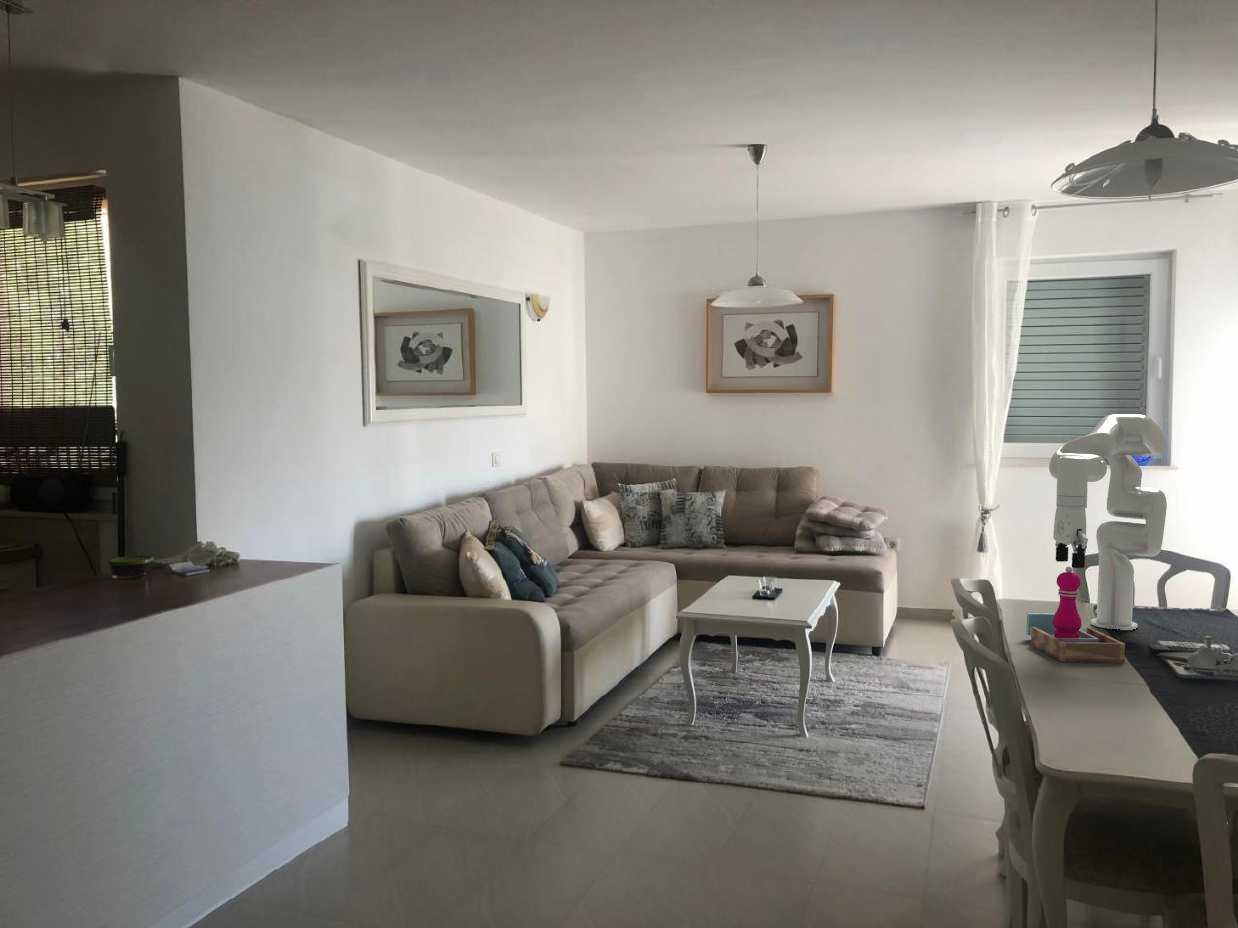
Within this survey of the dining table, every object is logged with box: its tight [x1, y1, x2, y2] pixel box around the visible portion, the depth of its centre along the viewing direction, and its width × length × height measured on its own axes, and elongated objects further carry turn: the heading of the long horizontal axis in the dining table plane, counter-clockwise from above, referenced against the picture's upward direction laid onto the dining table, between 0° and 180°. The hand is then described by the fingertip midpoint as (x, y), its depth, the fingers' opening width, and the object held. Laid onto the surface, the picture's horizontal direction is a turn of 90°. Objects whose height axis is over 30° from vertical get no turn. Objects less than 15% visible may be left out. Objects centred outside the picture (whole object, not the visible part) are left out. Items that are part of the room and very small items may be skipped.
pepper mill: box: [1053, 566, 1083, 638], centre depth 269 cm, size 7×7×20 cm
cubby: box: [1030, 627, 1126, 664], centre depth 263 cm, size 18×16×5 cm
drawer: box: [1026, 612, 1100, 643], centre depth 271 cm, size 16×13×6 cm
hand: (1069, 564), depth 268 cm, fingers open, 9 cm apart
